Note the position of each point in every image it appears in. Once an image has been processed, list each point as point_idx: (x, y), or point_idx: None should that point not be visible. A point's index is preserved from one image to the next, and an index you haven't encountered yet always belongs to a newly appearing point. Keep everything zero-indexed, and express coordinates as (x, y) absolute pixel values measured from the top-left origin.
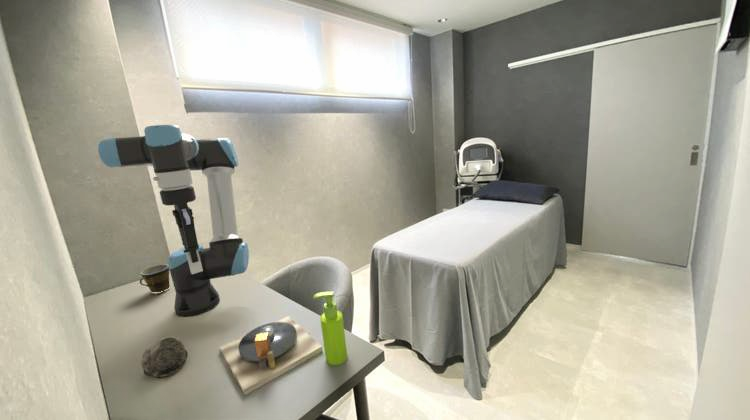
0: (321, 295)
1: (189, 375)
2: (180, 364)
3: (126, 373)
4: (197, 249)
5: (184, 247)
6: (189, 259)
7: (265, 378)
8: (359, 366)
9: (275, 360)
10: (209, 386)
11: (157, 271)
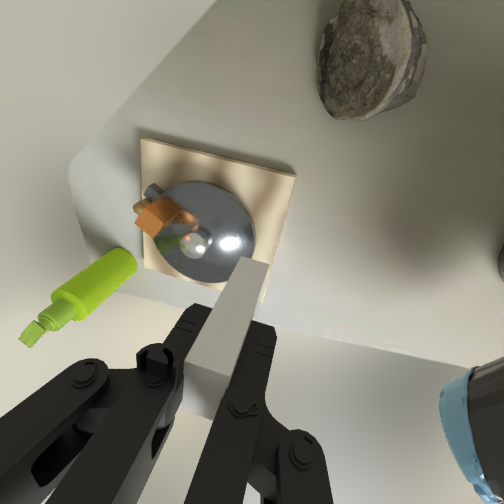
0: (25, 331)
1: (283, 92)
2: (324, 89)
3: None
4: (183, 404)
5: (232, 406)
6: (210, 317)
7: (142, 177)
8: (91, 261)
9: None
10: (214, 106)
11: None
